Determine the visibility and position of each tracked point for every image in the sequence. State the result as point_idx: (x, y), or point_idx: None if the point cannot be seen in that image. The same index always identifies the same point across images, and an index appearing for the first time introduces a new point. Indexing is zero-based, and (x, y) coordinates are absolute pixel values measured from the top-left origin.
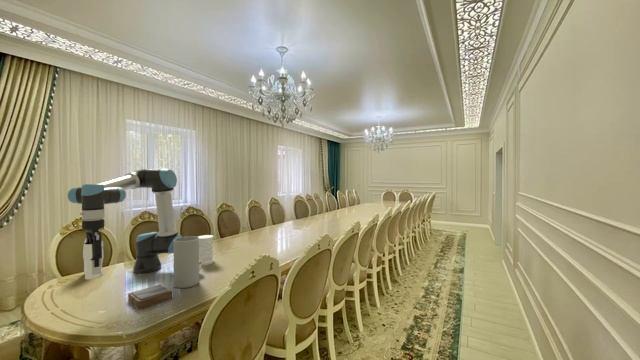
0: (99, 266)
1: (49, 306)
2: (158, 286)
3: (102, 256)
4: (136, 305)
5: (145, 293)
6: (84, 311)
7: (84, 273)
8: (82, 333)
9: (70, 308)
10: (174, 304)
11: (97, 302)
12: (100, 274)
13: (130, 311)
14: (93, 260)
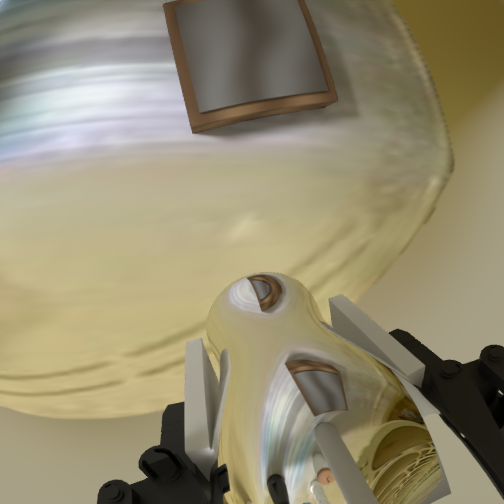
0: (375, 327)
1: (87, 383)
2: (200, 9)
3: (384, 365)
4: (298, 109)
5: (263, 61)
6: (199, 287)
7: None
8: (383, 269)
9: (137, 332)
10: (345, 16)
11: (124, 251)
12: (306, 291)
13: (317, 134)
14: None
